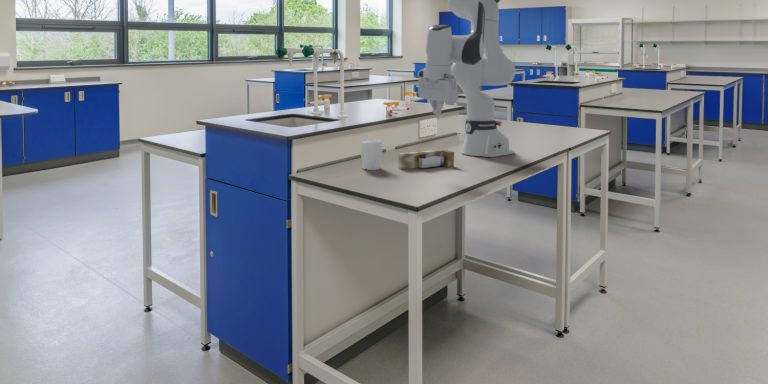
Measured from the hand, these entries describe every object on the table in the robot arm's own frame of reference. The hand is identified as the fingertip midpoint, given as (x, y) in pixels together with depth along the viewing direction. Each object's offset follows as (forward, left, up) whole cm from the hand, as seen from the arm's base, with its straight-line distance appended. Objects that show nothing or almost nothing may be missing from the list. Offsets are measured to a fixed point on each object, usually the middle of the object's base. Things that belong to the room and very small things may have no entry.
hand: (436, 113), depth 216 cm
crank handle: (-3, -7, -20) cm, 22 cm away
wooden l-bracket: (-1, -8, -21) cm, 22 cm away
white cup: (+18, -15, -21) cm, 31 cm away
